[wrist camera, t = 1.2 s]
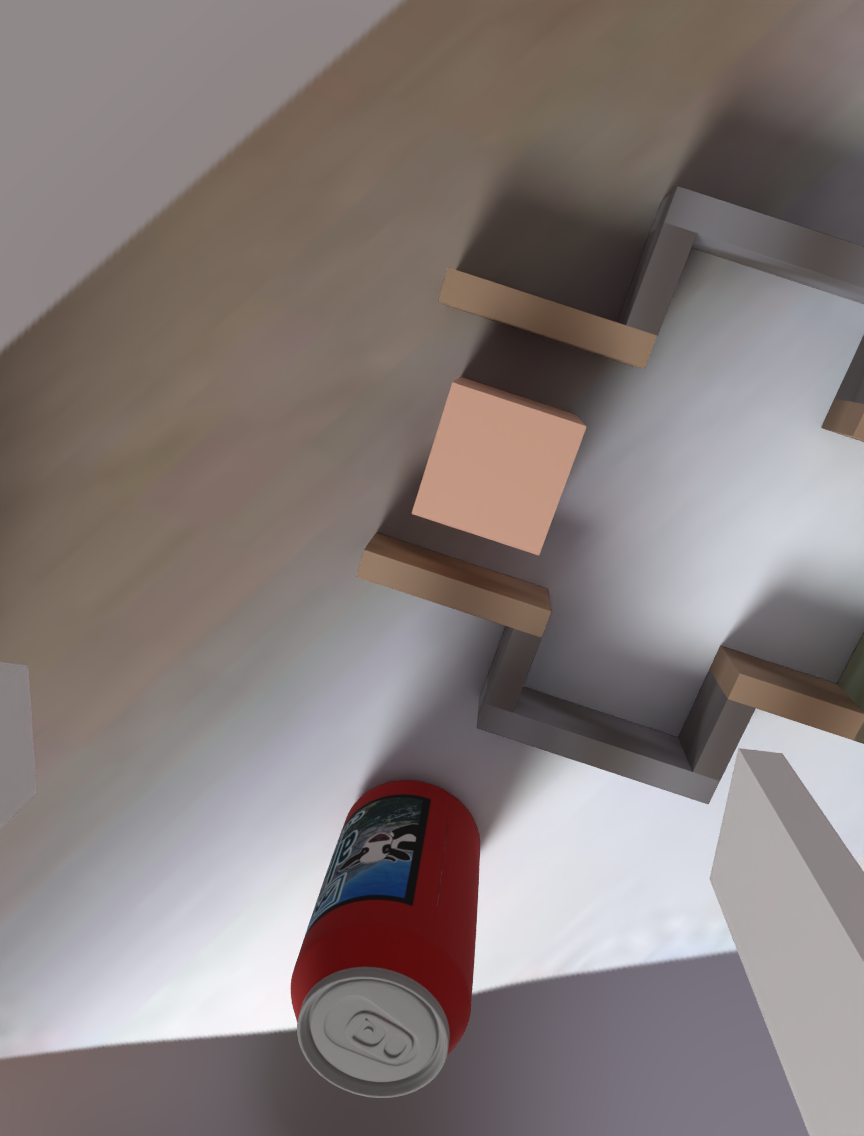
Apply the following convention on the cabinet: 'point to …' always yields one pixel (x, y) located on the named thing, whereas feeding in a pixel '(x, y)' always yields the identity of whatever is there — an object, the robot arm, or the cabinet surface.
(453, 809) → the beverage can
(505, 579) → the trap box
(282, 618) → the cabinet surface
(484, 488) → the block
